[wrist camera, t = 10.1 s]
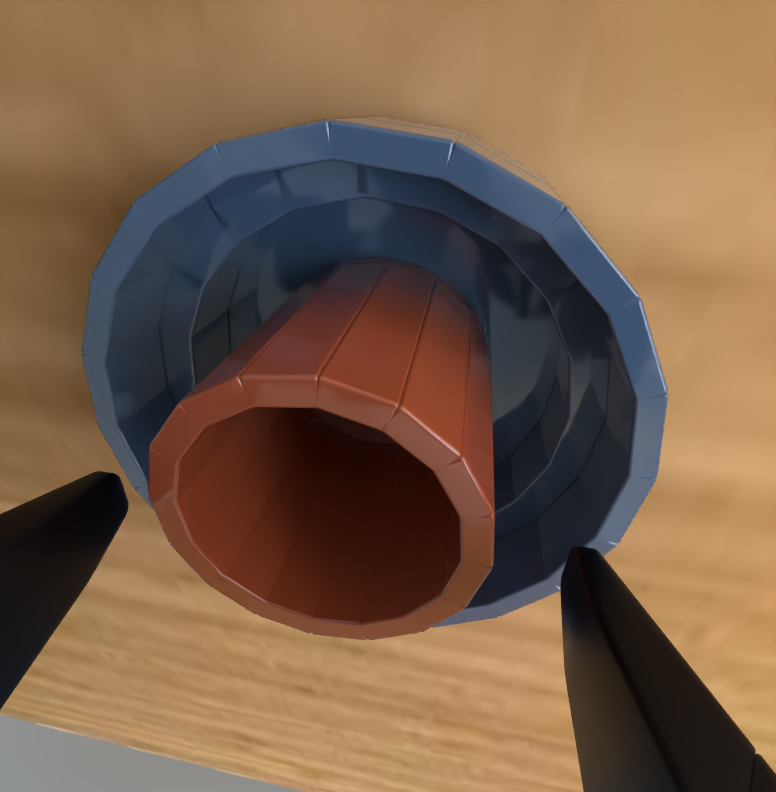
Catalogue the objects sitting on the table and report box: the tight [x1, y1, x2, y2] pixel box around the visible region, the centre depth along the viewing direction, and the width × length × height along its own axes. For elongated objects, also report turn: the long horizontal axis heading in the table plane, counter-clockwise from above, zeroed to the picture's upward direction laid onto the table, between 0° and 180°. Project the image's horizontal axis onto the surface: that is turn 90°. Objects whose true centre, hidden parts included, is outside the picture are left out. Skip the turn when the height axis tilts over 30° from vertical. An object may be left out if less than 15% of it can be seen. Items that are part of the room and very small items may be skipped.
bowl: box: [82, 117, 668, 628], centre depth 13 cm, size 13×13×5 cm
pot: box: [148, 258, 495, 640], centre depth 12 cm, size 7×7×7 cm
